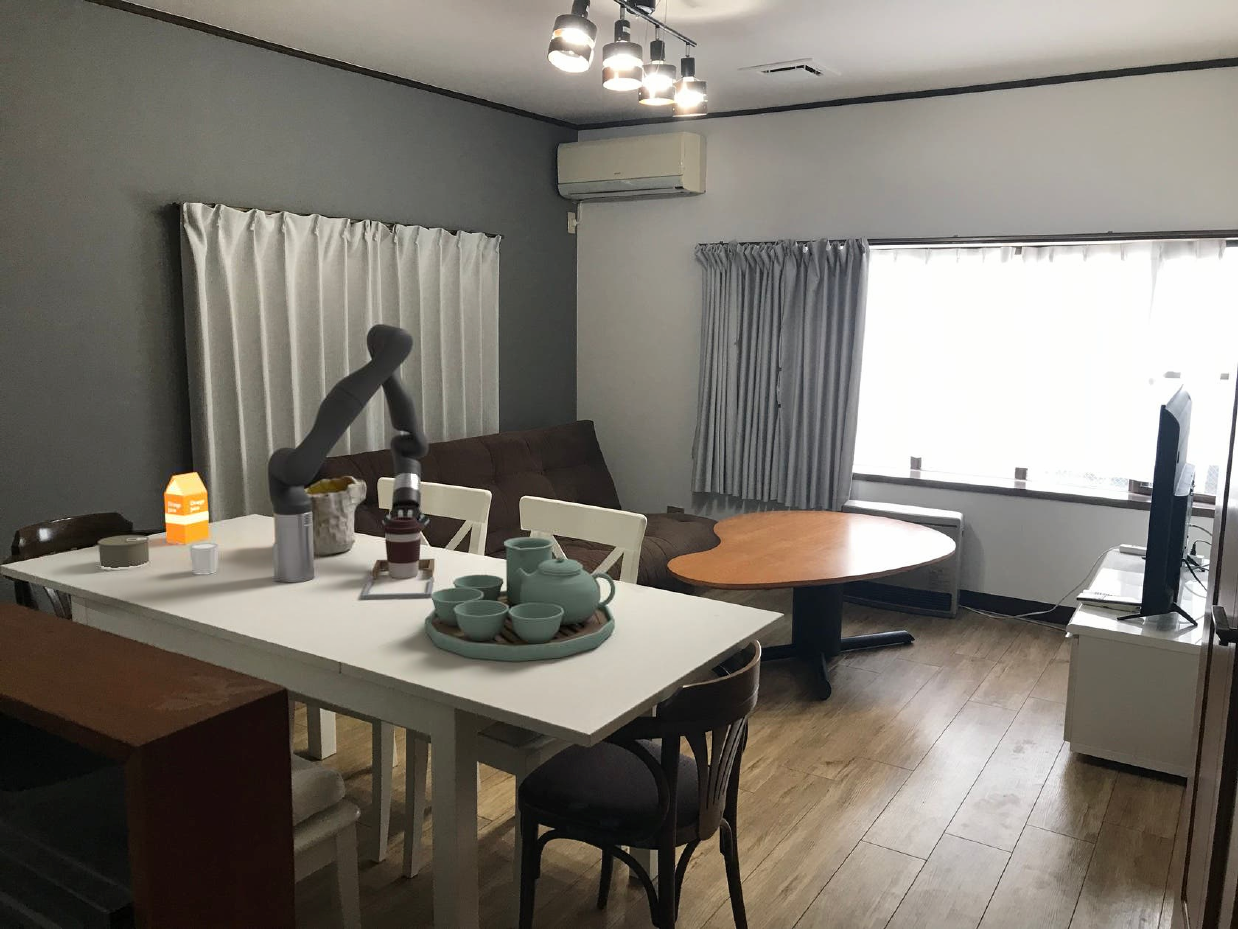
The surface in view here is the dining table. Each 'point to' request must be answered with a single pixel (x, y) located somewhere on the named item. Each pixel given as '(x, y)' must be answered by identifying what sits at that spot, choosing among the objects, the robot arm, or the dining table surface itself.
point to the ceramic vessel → (334, 513)
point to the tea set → (523, 608)
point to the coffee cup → (403, 546)
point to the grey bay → (397, 595)
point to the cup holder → (421, 565)
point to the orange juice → (186, 509)
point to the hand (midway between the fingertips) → (404, 547)
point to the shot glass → (204, 558)
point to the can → (124, 551)
